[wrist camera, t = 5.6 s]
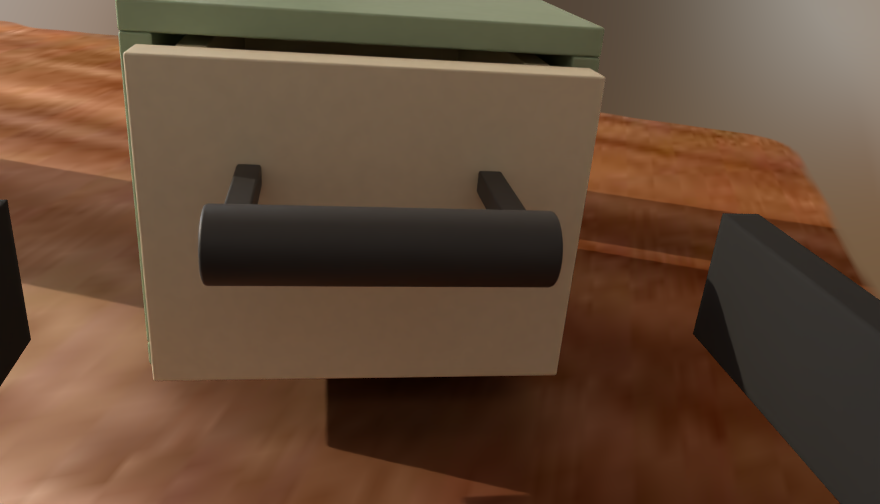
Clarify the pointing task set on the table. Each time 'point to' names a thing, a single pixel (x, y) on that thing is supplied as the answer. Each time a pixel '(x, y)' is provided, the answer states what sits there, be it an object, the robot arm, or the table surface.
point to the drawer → (356, 207)
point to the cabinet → (365, 31)
